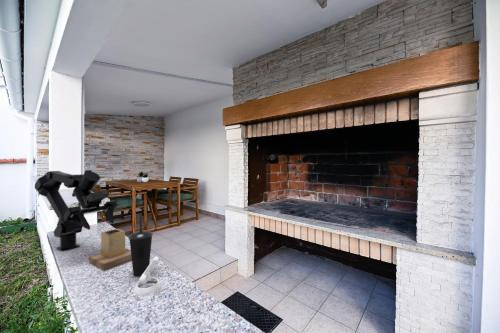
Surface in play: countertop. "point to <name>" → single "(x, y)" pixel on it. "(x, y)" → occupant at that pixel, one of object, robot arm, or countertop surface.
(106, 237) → the collar
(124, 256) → the post stand
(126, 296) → the countertop surface
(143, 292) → the hook
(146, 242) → the drinking cup
